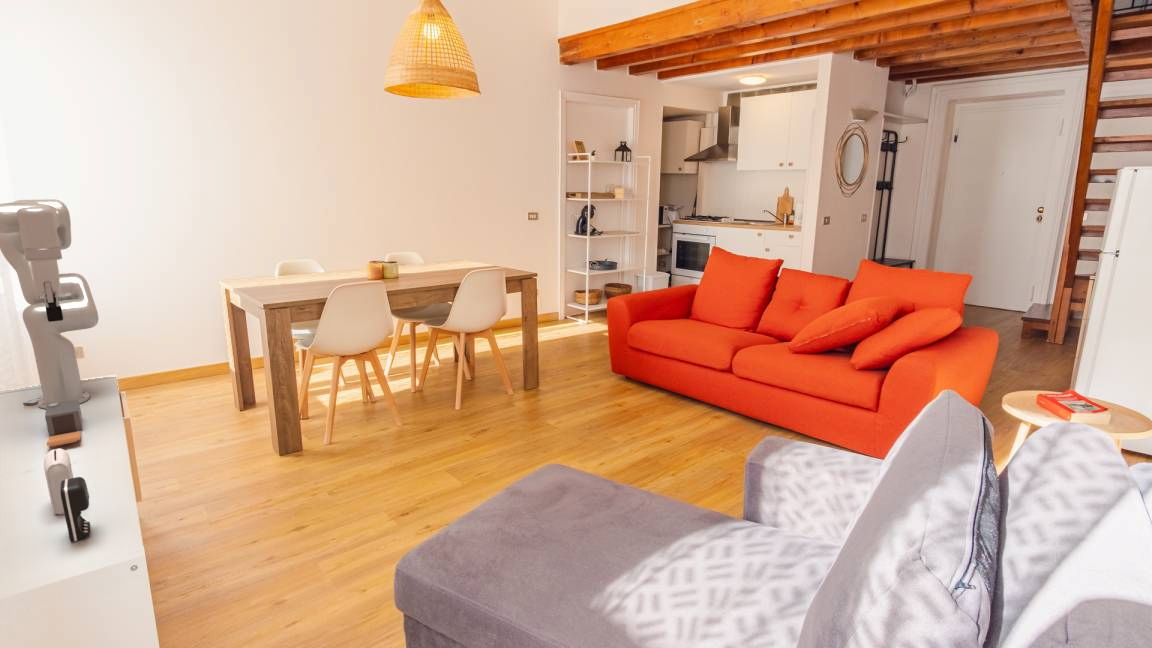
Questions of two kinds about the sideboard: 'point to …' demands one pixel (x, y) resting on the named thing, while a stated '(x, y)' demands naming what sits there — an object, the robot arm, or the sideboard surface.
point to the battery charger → (75, 507)
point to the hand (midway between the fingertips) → (55, 320)
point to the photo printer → (57, 475)
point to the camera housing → (63, 418)
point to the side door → (64, 438)
